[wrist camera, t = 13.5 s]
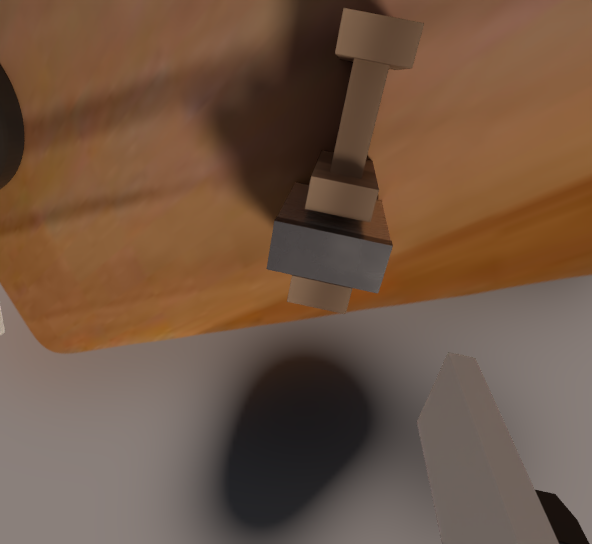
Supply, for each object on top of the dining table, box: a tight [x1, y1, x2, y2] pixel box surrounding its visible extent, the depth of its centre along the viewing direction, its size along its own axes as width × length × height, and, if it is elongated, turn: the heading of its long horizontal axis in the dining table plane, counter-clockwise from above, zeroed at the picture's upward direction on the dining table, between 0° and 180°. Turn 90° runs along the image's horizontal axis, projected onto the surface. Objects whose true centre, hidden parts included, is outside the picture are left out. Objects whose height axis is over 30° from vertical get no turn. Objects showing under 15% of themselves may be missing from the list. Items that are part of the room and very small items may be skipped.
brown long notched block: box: [287, 8, 424, 314], centre depth 26 cm, size 4×24×9 cm, turn 170°
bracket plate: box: [267, 182, 393, 293], centre depth 29 cm, size 7×3×10 cm, turn 80°
